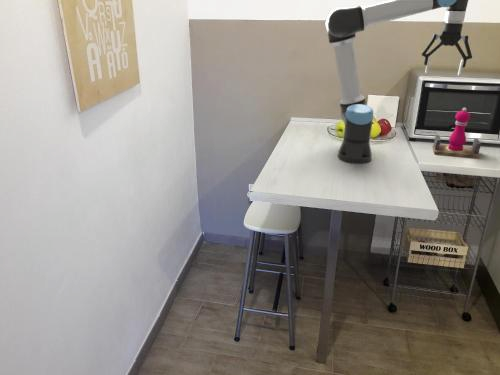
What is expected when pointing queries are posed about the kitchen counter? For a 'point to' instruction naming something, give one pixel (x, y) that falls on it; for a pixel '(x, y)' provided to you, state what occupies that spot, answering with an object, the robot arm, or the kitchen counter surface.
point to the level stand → (466, 152)
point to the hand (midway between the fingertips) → (442, 74)
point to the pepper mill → (459, 131)
